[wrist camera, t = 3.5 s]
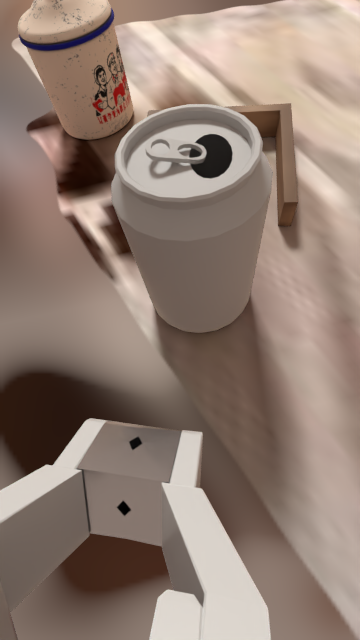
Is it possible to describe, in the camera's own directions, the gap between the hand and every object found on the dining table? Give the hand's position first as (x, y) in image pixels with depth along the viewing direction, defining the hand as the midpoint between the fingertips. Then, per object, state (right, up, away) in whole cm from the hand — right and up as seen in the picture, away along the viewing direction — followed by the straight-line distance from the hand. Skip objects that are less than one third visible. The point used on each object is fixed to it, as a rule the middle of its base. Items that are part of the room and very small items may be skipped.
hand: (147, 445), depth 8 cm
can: (+2, +5, +15) cm, 16 cm away
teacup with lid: (-8, +29, +28) cm, 41 cm away
